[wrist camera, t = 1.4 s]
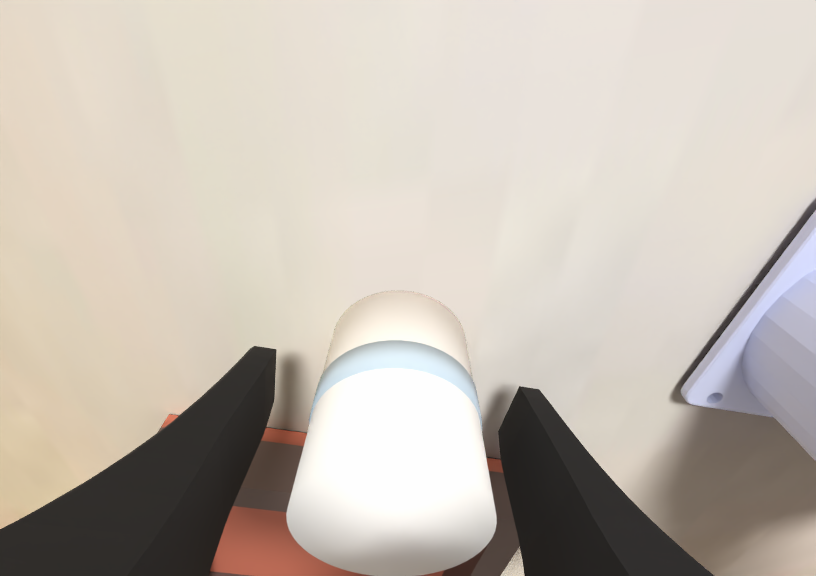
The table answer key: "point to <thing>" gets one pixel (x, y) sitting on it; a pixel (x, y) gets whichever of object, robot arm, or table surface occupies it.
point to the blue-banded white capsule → (394, 445)
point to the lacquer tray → (280, 553)
